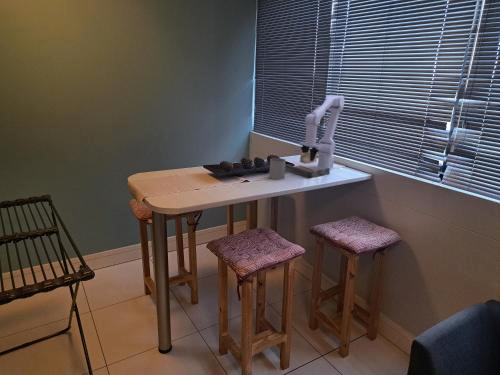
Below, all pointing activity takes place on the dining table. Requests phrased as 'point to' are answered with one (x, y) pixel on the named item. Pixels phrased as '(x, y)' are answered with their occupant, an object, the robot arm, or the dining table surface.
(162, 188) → the dining table surface
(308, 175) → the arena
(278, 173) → the cup
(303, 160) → the block
